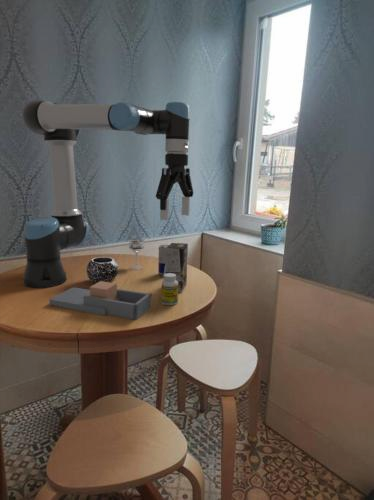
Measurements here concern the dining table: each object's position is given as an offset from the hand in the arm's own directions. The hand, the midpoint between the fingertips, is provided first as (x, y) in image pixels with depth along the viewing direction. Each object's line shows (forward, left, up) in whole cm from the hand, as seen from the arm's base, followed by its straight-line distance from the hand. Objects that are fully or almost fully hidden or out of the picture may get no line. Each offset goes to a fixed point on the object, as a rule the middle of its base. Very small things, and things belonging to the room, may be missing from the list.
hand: (175, 217), depth 121 cm
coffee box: (0, +3, -27) cm, 27 cm away
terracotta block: (-15, -22, -25) cm, 36 cm away
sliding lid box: (-16, -22, -27) cm, 38 cm away
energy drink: (-10, +16, -27) cm, 33 cm away
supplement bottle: (+3, -11, -27) cm, 29 cm away
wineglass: (-25, +20, -27) cm, 42 cm away
